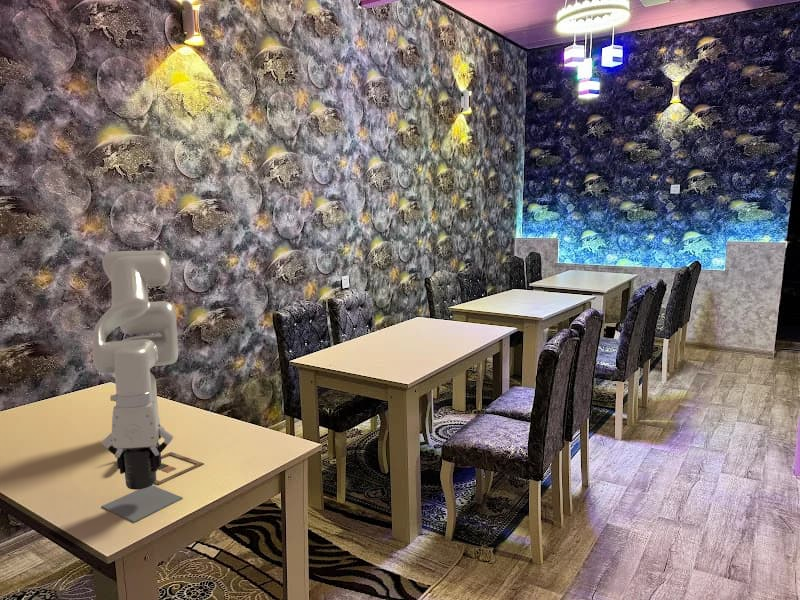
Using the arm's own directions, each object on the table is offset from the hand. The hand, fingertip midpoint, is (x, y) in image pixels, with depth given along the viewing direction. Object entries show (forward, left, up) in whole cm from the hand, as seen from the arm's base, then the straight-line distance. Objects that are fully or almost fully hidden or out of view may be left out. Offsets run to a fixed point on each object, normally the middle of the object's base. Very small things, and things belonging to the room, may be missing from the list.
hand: (140, 469), depth 139 cm
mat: (0, 0, -9) cm, 9 cm away
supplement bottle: (0, 0, -4) cm, 4 cm away
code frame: (-12, +15, -9) cm, 21 cm away
